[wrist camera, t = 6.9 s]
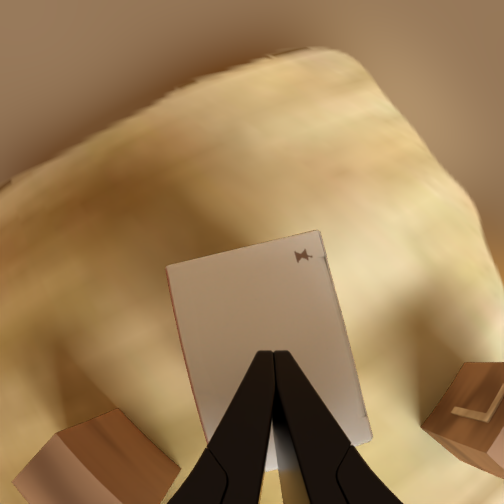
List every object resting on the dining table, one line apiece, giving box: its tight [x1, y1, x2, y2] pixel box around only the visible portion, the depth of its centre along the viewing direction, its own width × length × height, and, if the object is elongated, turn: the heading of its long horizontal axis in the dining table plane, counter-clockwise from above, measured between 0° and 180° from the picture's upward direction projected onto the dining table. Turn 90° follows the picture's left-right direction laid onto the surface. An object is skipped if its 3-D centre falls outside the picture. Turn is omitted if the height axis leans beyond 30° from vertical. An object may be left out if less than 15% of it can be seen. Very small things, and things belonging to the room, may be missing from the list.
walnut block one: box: [12, 408, 181, 504], centre depth 13 cm, size 6×6×8 cm
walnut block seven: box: [421, 362, 504, 479], centre depth 14 cm, size 6×6×8 cm
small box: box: [165, 230, 373, 472], centre depth 15 cm, size 8×6×10 cm
